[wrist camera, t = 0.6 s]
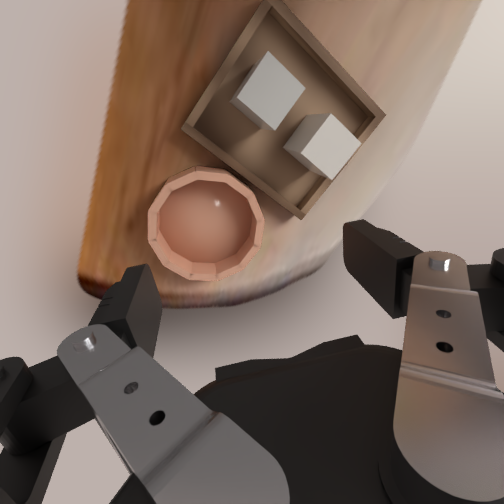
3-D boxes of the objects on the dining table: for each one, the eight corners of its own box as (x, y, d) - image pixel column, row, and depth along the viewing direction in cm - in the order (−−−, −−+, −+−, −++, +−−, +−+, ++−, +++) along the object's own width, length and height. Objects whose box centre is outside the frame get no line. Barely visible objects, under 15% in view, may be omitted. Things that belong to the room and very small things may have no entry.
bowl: (191, 143, 30) (190, 145, 27) (277, 207, 35) (285, 216, 31) (132, 233, 33) (125, 245, 30) (218, 282, 37) (221, 297, 34)
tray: (265, -3, 27) (270, -12, 25) (376, 115, 32) (386, 115, 31) (181, 128, 30) (180, 129, 28) (296, 215, 35) (301, 220, 34)
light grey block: (254, 64, 28) (268, 50, 23) (285, 94, 30) (305, 88, 24) (229, 101, 29) (236, 97, 24) (260, 128, 31) (275, 130, 25)
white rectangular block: (307, 114, 31) (331, 113, 25) (333, 139, 32) (361, 143, 27) (282, 147, 32) (300, 152, 26) (309, 170, 33) (332, 180, 28)
